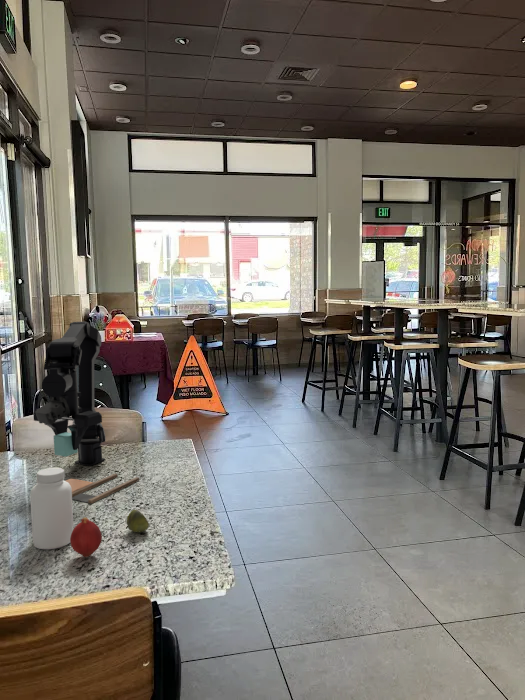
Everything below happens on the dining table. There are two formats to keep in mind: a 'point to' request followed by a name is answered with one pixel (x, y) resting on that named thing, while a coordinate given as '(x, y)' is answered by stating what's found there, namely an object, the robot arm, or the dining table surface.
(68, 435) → the block
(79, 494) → the chute
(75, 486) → the tile
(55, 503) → the pill bottle
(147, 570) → the dining table surface
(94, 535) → the onion
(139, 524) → the lime
